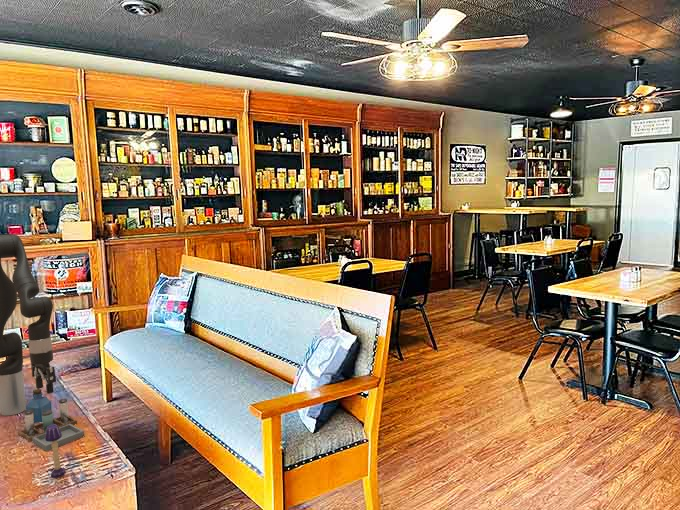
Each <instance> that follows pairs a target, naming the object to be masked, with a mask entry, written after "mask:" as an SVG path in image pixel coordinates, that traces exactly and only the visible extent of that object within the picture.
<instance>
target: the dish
mask: <svg viewBox="0 0 680 510" xmlns="http://www.w3.org/2000/svg"><path fill="white" fill-rule="evenodd" d="M59 430H60V432H61V434H62V437H61V438H60V439H58V440H57V443H58V448H59V447H61V446H64V445H67V444H69V443H71V441H72V442H73V440H74V441H77V440H79V439H81V437H82V438H84V437H85V431H84V430H83V429H82V428H79V427H78V426H76V425H72V424H67V425H65V426H62V427H59ZM83 436H84V437H83ZM45 437H46V433H43V434H41V435H38V436H35V437H33V438H32V440H33V441H32V444H33V443H34V444H33V445H35V446H36V447H39V448H40V449H41V450H43V451H45V452H49V451H52V443H51V442H48V441H46V440H45ZM78 438H79V439H78ZM76 439H77V440H76ZM66 443H67V444H66Z"/></svg>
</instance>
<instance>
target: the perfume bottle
mask: <svg viewBox="0 0 680 510" xmlns="http://www.w3.org/2000/svg"><path fill="white" fill-rule="evenodd" d="M52 409H53V408H52V401H51V400H50V399H49V398H48V397H47V396H44V395H43V390H42V388H40V389H37V388H36V389H34V390H32V398H31V399H29V401H28V402H27V403H26V410H25V411H27V410H33V416H34V423H37V422H41V423H42V412H43V411H46V410H52ZM52 411H53V410H52Z"/></svg>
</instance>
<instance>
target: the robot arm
mask: <svg viewBox="0 0 680 510" xmlns="http://www.w3.org/2000/svg"><path fill="white" fill-rule="evenodd" d="M8 258H15V260H16V264H15V265H16V266H15V268H14V271H13V273H12V280H11V279H10V277H9V276H8V275H7V273H5V270H4V268H3V265H2V259H8ZM38 294H40V287H39V285H38V283H37V281H36V279H35V277H34V276H33V273H32V271H31V268H30V264H29V260H28V255H27V253H26V250H25V246H24V243H23V241H22V239H21V237H20V236H19V235H18V234H14V233H12V234H9V233H8V234H7V233H6V234H0V359H4V358H5V360H4V361H2V362H1V363H0V415H1V416H5V417H6V416H13V415H18V414H21V413H24V412H25V411H26V406H27V401H26V392H25V381H24V371H23V365H24V356H23V351H24V349H23V340H22V337H21V336H20V334H18V332H15V331H13V332H12V331H11V332H7V333H4V330H5V327H6V325H7V323H8V321H9V319H10V317H11V316H12V314H13V313H14V311H15V309H16V307H17V305H18V299H19V310H20V314H21V316H23V317H24V318H27V319H31V318H35V317H37V318H38V317H39V319H37V321H34V322H31V323H30V324H29V325H28V326H27V332H28V352H29V360H30V361H29V362H30V366H31V376H32V378H33V379H34V380H35V386H36V387H35V388H36V389H42V388H44V382H45V388H46V389H45V390H46V394H52V393H54V383H56V382H57V379H56V378H57V377H56V370H55V366H54V365H53V366H50V362H52V361H53V360H54V351H53V342H52V338H51V330H50V329H51V328H50V327H51V326H50V323H51V319H52V314H53V309H54V303H53V301H52V299H51V298H50V297H48V296H40V297H39V296H38V297H36V296H37V295H38ZM43 380H44V382H43Z"/></svg>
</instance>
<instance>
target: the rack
mask: <svg viewBox="0 0 680 510" xmlns="http://www.w3.org/2000/svg"><path fill="white" fill-rule="evenodd" d="M54 423H55V424H54ZM53 424H54V425H57V426H58V427H62V426H65V425H67V424H72V425H74V426H76V425H78V419H75V418H73V417H71V416H69V423H66V424H64V423H62V422H61V417H60V416H58V417H55V418H53ZM75 424H76V425H75ZM34 426H35V435H34V436H31V437H29V436H27V435H26V434H25V433H26V428H24V429H21V430H19V431H18V430H17V433H18V436H19V437H20V436H21V437H20V438H22V437H23V438H22V439H24V438H25V439H26V440H25V439H24V440H25V441H27V440H28V441H27V442H29V443H31V442H33V440H32V438H33V437H35V436H38V435H41V434H43V433H46V431H41V430H39V428H40V429H43V424H42V422H41V423H37V424H36V425H35V424H34ZM30 441H31V442H30Z"/></svg>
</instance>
